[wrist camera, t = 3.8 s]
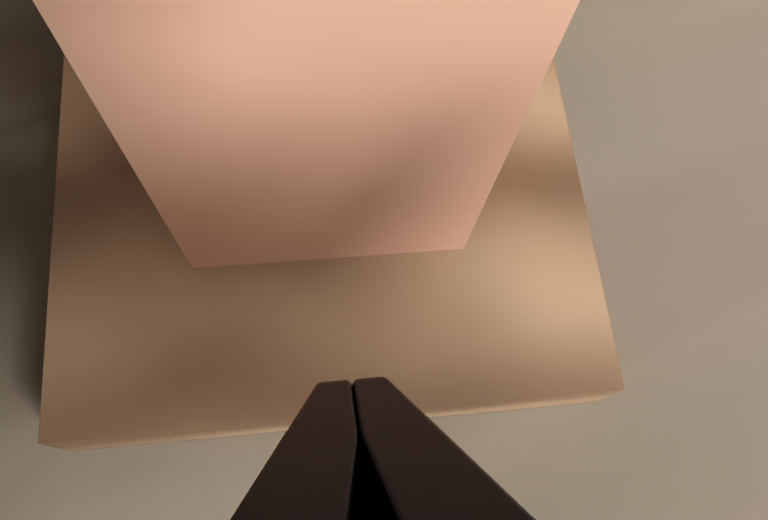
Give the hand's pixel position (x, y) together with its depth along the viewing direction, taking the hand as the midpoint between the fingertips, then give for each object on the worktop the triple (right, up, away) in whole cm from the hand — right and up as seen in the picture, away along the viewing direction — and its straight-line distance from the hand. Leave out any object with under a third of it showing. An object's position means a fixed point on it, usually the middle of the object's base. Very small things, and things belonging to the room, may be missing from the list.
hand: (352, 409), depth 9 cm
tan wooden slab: (-1, +3, +12) cm, 12 cm away
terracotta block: (-1, +5, +11) cm, 12 cm away
